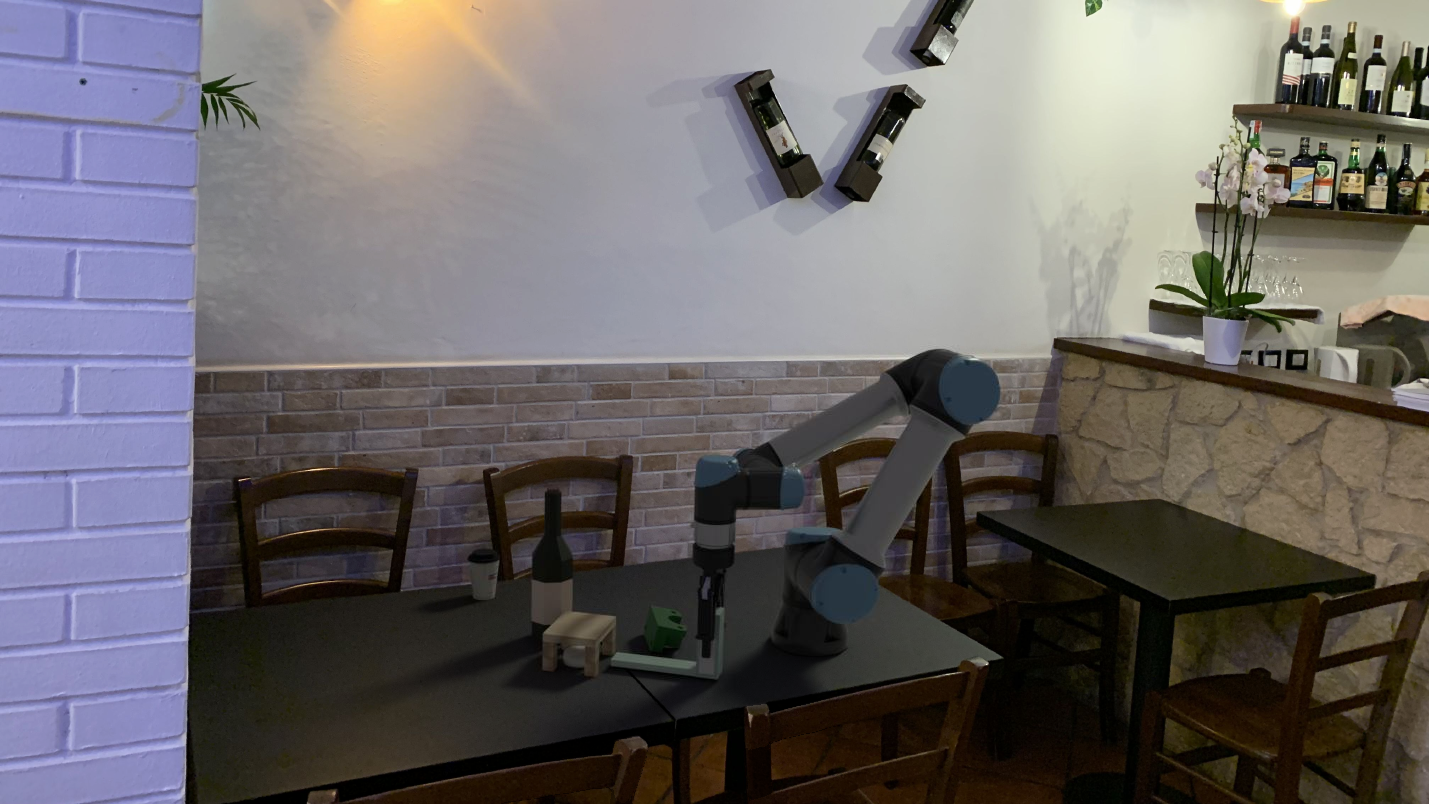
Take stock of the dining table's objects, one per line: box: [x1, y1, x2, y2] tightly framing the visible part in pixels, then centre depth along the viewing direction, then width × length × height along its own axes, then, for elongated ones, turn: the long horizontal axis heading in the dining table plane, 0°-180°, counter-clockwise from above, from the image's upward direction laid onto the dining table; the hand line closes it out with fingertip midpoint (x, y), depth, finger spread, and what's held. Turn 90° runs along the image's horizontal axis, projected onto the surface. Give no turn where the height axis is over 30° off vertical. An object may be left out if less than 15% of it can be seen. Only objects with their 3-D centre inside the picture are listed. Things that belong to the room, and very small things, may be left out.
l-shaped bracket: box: [610, 607, 726, 680], centre depth 194 cm, size 20×4×12 cm, turn 78°
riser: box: [542, 610, 617, 678], centre depth 198 cm, size 10×12×7 cm
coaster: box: [563, 645, 585, 669], centre depth 199 cm, size 6×6×2 cm
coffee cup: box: [466, 547, 501, 601], centre depth 230 cm, size 7×7×10 cm
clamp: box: [643, 605, 688, 654], centre depth 208 cm, size 12×6×9 cm
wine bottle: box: [530, 486, 574, 646], centre depth 207 cm, size 8×8×30 cm
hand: (709, 667), depth 193 cm, fingers closed on l-shaped bracket, 4 cm apart
